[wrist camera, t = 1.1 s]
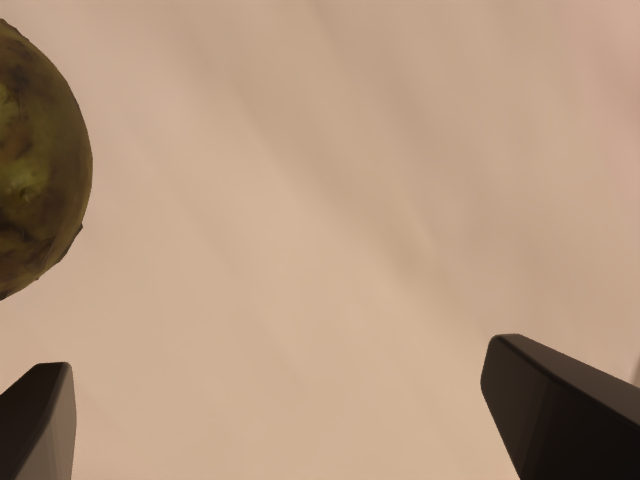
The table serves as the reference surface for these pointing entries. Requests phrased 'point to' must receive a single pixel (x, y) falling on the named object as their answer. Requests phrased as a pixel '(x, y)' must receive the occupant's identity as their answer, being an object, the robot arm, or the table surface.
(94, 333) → the table surface
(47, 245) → the potato
